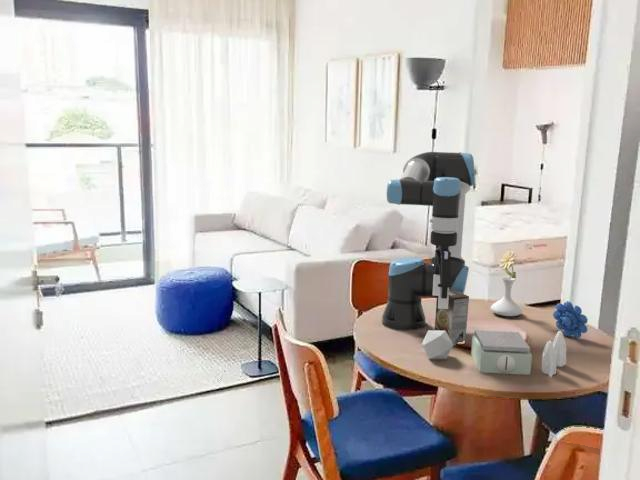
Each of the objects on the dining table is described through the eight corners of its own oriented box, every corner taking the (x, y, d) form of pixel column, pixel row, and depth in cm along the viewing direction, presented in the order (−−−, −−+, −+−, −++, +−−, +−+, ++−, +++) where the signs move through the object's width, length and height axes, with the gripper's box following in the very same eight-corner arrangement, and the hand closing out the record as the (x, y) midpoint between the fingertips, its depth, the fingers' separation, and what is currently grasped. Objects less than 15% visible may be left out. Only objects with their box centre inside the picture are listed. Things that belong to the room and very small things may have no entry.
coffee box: (433, 337, 196) (436, 289, 193) (449, 334, 198) (452, 288, 195) (449, 346, 188) (452, 297, 185) (466, 344, 190) (469, 295, 187)
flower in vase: (488, 308, 228) (493, 245, 223) (518, 310, 226) (524, 246, 222) (493, 319, 215) (498, 252, 210) (525, 321, 214) (531, 253, 209)
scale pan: (474, 334, 180) (474, 330, 180) (518, 335, 179) (518, 332, 179) (482, 349, 168) (483, 345, 167) (529, 352, 167) (530, 348, 166)
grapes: (545, 335, 200) (549, 300, 198) (554, 330, 205) (557, 297, 202) (580, 344, 192) (584, 308, 190) (588, 339, 197) (592, 304, 194)
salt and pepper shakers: (554, 361, 177) (558, 326, 175) (568, 365, 175) (572, 329, 172) (537, 373, 169) (541, 336, 167) (552, 377, 166) (555, 339, 164)
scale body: (471, 353, 182) (472, 333, 181) (517, 355, 181) (519, 335, 180) (480, 373, 168) (481, 351, 166) (530, 375, 167) (532, 353, 165)
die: (444, 367, 173) (462, 338, 174) (418, 351, 173) (435, 322, 175) (438, 366, 181) (454, 338, 183) (413, 350, 182) (430, 323, 183)
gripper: (426, 223, 184) (423, 290, 188) (436, 238, 159) (431, 314, 163) (451, 224, 183) (446, 290, 187) (464, 239, 159) (459, 315, 163)
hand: (439, 301), depth 175 cm, fingers open, 13 cm apart
